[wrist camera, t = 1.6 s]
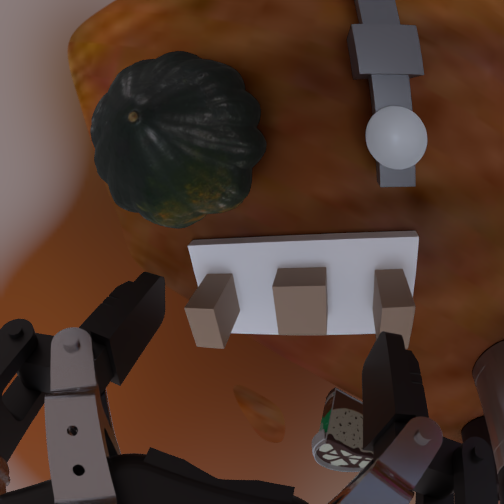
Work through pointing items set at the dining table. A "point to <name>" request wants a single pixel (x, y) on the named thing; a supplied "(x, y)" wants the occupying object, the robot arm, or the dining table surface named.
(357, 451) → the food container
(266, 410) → the dining table surface
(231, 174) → the squash
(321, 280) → the display stand
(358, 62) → the grey white knobbed bar
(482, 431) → the bottle
